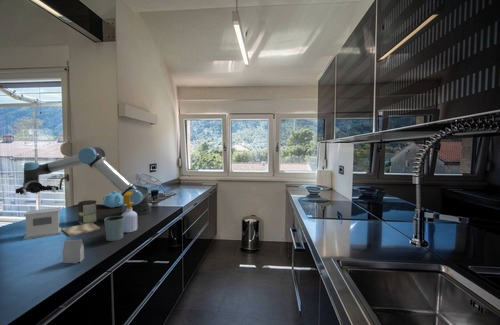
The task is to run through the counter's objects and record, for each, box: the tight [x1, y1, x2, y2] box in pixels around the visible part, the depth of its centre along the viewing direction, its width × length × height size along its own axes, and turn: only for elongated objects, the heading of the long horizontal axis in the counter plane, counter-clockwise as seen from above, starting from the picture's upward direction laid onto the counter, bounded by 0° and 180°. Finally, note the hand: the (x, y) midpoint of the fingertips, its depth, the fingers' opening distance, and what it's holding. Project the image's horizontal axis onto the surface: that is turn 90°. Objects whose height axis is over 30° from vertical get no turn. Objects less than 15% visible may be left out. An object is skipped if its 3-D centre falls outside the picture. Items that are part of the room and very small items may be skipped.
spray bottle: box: [120, 192, 138, 233], centre depth 146 cm, size 9×9×25 cm
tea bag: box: [62, 239, 85, 264], centre depth 105 cm, size 4×7×10 cm, turn 105°
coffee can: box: [78, 199, 97, 225], centre depth 163 cm, size 10×10×14 cm
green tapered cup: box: [103, 215, 124, 242], centre depth 133 cm, size 10×10×12 cm
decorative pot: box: [102, 190, 125, 209], centre depth 206 cm, size 16×16×14 cm
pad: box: [61, 222, 101, 237], centre depth 146 cm, size 16×16×1 cm
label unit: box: [23, 207, 62, 241], centre depth 137 cm, size 16×10×14 cm, turn 127°
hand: (40, 191), depth 141 cm, fingers open, 13 cm apart
